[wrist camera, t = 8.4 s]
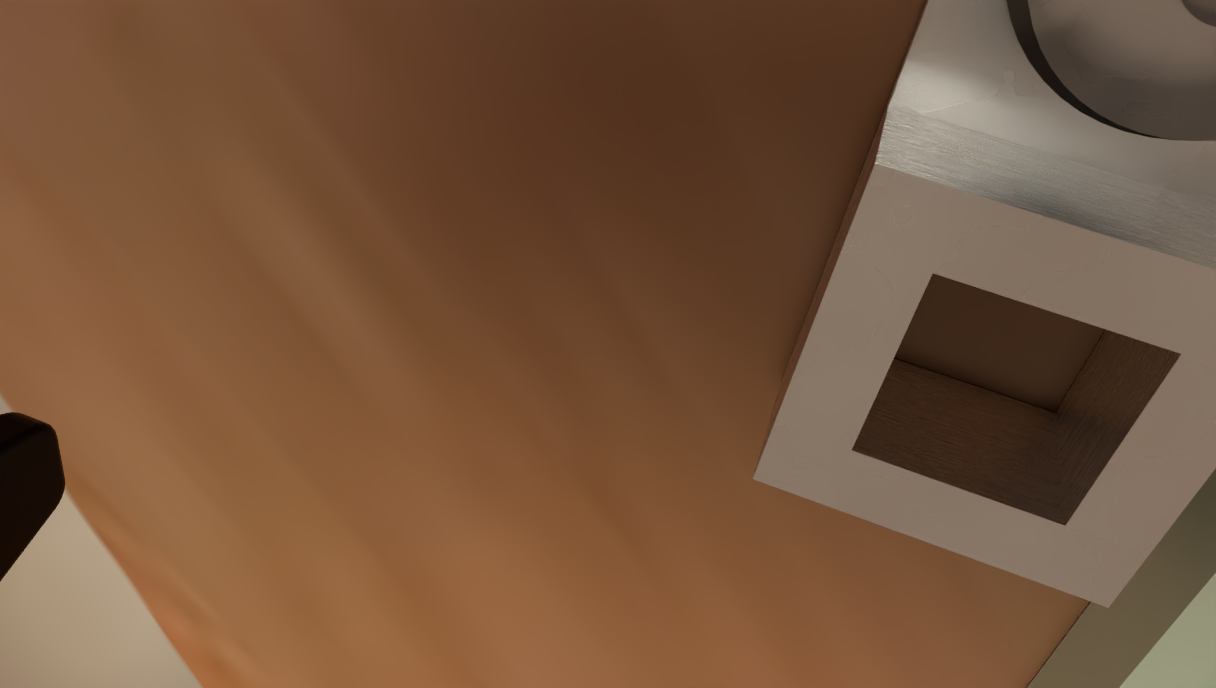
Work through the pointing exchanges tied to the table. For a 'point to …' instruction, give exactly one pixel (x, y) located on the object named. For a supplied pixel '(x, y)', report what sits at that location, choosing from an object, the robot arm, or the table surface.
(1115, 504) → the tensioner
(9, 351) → the table surface
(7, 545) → the robot arm
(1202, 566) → the tray
